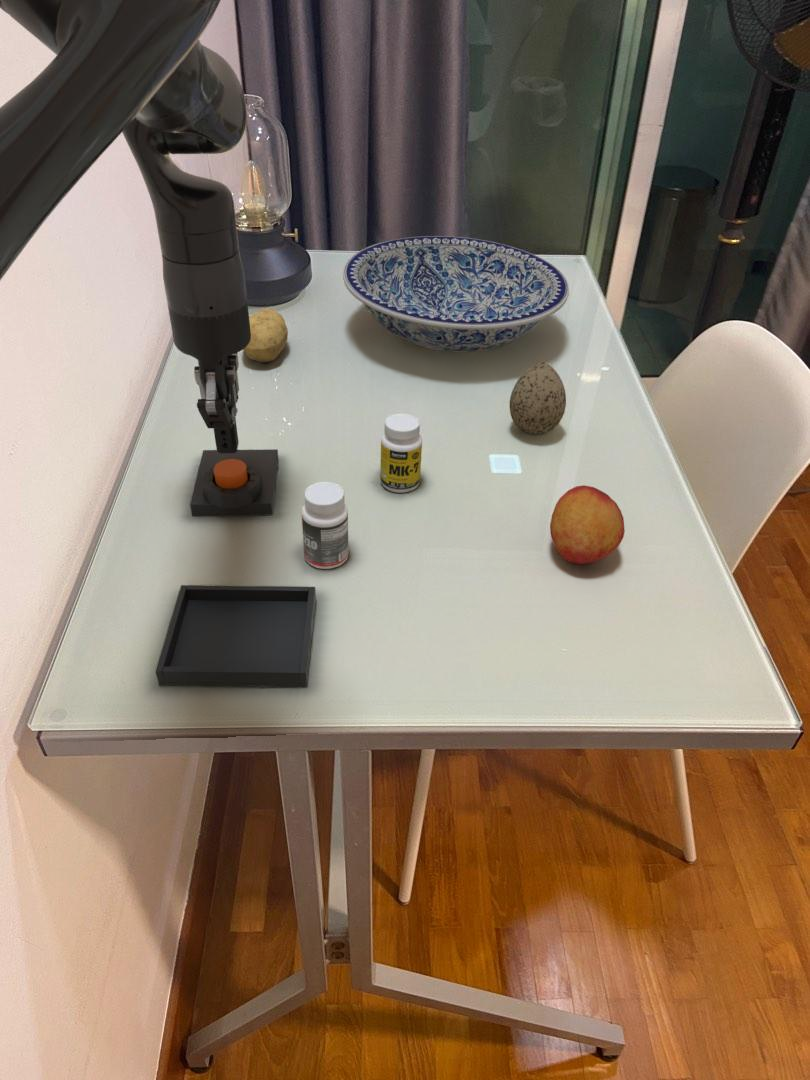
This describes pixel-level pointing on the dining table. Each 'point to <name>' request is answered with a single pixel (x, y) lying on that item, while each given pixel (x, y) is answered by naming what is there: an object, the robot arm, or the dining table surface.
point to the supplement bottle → (401, 453)
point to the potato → (266, 335)
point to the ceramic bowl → (455, 290)
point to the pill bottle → (325, 525)
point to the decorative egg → (538, 400)
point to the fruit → (586, 525)
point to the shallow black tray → (239, 636)
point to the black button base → (243, 499)
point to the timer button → (230, 474)
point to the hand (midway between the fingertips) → (228, 449)
